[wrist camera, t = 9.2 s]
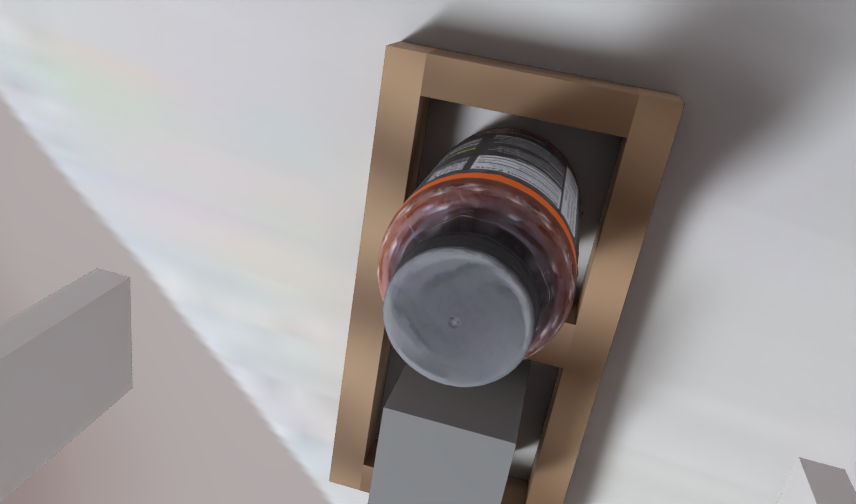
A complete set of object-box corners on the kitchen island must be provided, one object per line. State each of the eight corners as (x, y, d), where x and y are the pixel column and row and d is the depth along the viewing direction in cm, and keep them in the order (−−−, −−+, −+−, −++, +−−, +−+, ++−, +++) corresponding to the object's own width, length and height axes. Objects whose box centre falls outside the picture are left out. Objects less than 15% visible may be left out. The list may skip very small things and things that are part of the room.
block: (530, 361, 30) (516, 443, 25) (507, 452, 32) (489, 547, 27) (420, 333, 31) (383, 407, 26) (404, 423, 33) (366, 510, 28)
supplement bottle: (519, 293, 29) (475, 462, 19) (406, 207, 29) (301, 331, 19) (615, 187, 27) (625, 315, 17) (492, 92, 27) (425, 162, 16)
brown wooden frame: (400, 41, 27) (386, 45, 25) (678, 95, 25) (684, 103, 23) (343, 454, 34) (329, 481, 33) (552, 515, 33) (549, 546, 31)
